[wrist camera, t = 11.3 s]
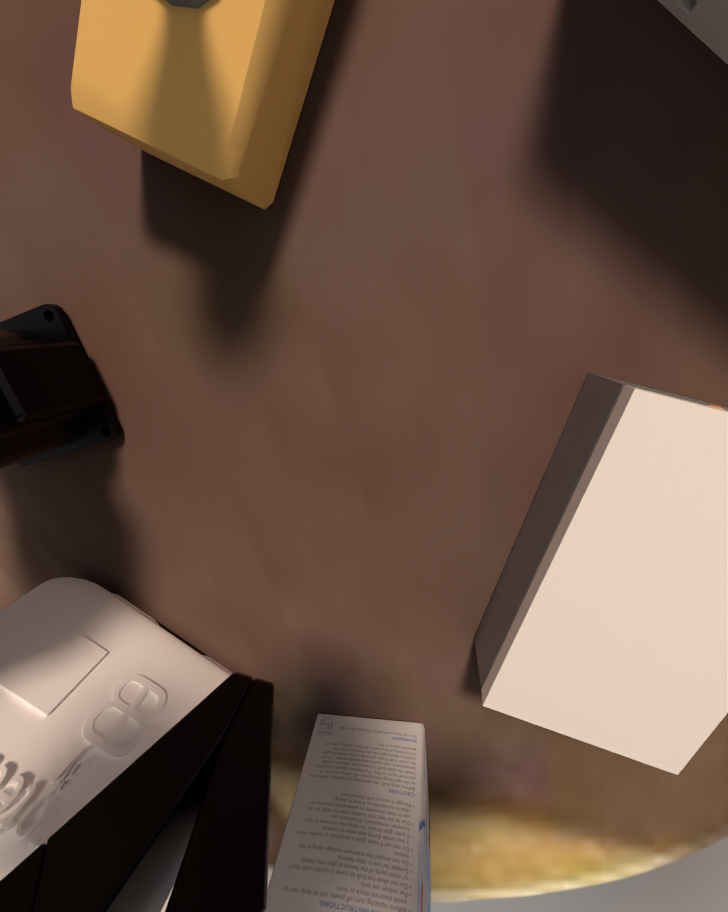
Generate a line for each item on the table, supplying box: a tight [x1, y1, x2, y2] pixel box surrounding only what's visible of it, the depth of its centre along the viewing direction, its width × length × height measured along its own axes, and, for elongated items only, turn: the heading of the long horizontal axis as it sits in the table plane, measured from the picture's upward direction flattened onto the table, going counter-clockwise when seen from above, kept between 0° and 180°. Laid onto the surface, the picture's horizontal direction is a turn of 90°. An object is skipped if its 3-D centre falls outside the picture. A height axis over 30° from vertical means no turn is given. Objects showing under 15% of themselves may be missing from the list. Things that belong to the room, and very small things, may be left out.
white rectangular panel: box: [481, 385, 728, 775], centre depth 15 cm, size 8×14×1 cm, turn 167°
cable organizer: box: [0, 577, 233, 912], centre depth 20 cm, size 15×11×12 cm
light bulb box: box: [265, 714, 430, 912], centre depth 20 cm, size 11×7×11 cm, turn 5°
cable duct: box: [474, 372, 728, 688], centre depth 17 cm, size 8×14×3 cm, turn 167°
